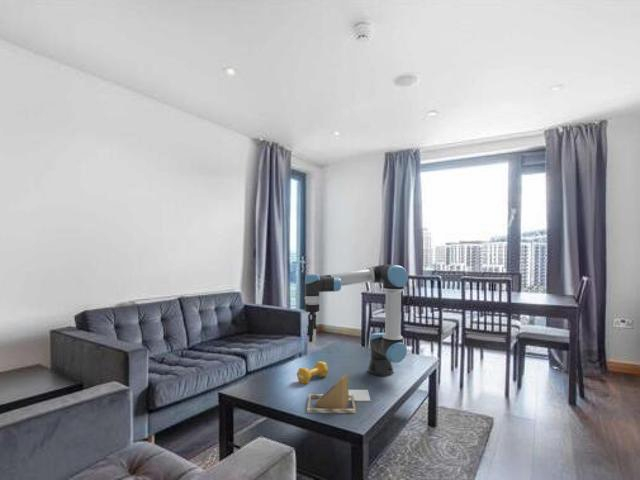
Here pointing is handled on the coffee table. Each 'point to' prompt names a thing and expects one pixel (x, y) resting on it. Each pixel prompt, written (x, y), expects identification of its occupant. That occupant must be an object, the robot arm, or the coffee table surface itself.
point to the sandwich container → (336, 395)
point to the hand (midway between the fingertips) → (312, 344)
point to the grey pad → (359, 395)
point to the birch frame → (319, 410)
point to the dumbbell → (312, 372)
